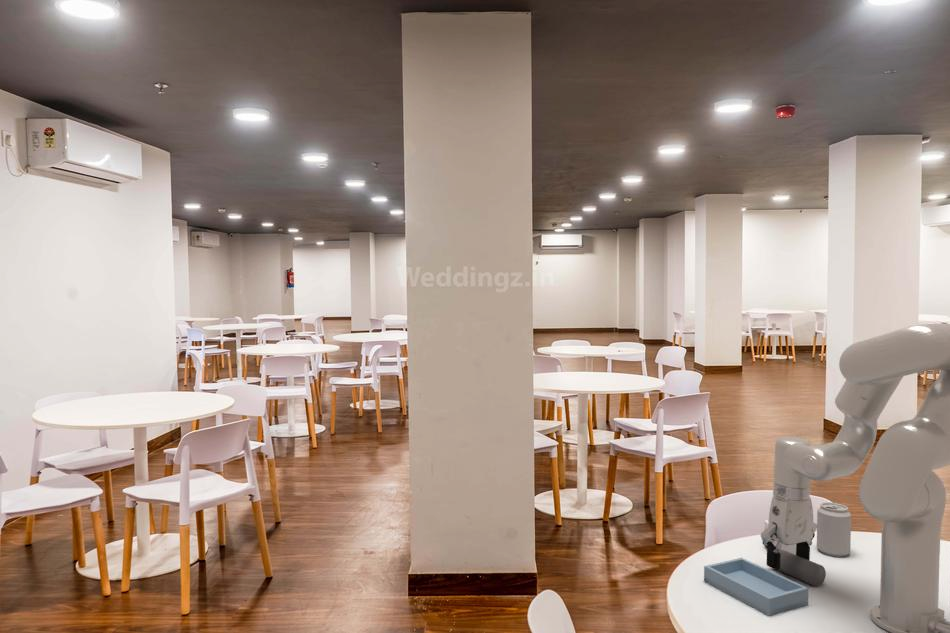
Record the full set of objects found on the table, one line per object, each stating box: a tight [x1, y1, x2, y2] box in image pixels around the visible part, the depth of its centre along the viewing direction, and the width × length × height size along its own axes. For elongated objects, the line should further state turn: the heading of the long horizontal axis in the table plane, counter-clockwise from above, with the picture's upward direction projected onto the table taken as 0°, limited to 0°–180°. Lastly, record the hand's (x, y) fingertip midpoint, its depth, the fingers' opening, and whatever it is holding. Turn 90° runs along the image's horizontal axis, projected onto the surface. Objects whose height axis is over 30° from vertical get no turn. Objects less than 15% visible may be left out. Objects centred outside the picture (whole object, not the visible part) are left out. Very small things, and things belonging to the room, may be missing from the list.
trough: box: [703, 557, 809, 617], centre depth 141 cm, size 18×12×4 cm, turn 25°
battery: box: [778, 549, 827, 587], centre depth 150 cm, size 12×5×5 cm
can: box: [816, 501, 852, 558], centre depth 164 cm, size 8×8×12 cm
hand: (787, 564), depth 149 cm, fingers open, 9 cm apart
